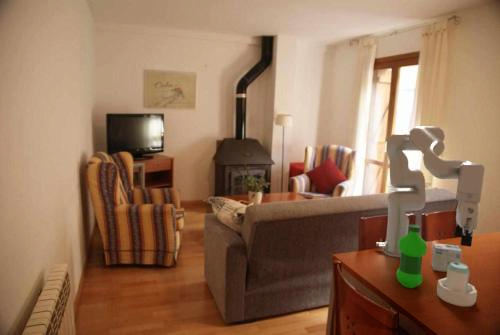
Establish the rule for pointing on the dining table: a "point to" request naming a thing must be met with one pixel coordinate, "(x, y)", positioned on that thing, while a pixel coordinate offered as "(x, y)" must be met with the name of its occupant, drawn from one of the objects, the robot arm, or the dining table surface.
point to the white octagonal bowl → (456, 294)
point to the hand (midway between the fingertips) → (462, 241)
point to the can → (457, 277)
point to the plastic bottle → (411, 258)
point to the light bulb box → (445, 256)
